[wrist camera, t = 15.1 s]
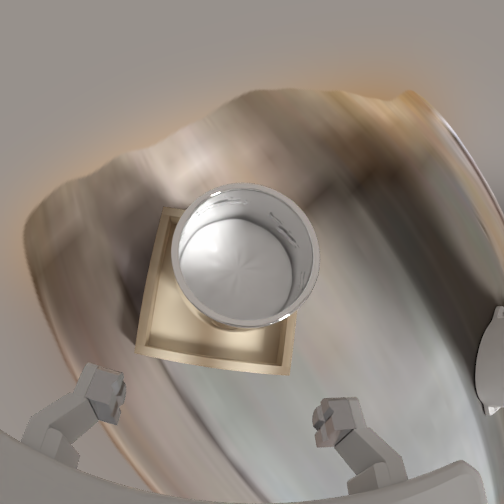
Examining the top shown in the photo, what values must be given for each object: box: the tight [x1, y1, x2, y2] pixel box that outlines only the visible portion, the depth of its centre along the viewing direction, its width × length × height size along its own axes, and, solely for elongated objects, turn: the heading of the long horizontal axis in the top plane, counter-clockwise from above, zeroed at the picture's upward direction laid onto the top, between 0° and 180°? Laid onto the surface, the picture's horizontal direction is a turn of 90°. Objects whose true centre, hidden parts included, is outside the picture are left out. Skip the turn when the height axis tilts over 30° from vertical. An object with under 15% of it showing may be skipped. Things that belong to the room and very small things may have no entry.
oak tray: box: [134, 207, 297, 375], centre depth 26 cm, size 14×14×3 cm
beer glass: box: [171, 183, 320, 333], centre depth 19 cm, size 7×7×15 cm
